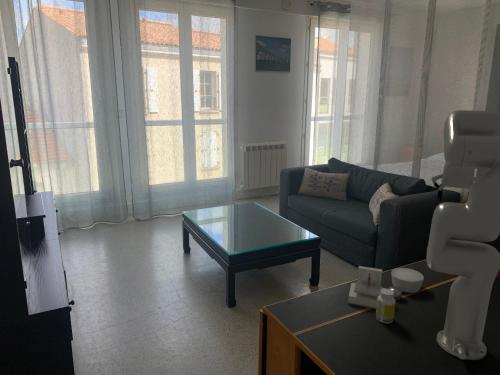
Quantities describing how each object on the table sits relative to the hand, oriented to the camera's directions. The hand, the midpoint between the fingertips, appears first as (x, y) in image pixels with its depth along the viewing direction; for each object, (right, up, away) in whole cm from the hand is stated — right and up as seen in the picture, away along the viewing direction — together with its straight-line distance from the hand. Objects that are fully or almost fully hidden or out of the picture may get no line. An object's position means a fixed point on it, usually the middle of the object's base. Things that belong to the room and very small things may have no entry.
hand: (453, 201), depth 142 cm
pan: (-36, -31, -11) cm, 49 cm away
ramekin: (-18, -32, 0) cm, 37 cm away
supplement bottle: (-34, -37, -21) cm, 54 cm away
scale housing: (-36, -34, -9) cm, 50 cm away
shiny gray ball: (-25, -34, -7) cm, 43 cm away
